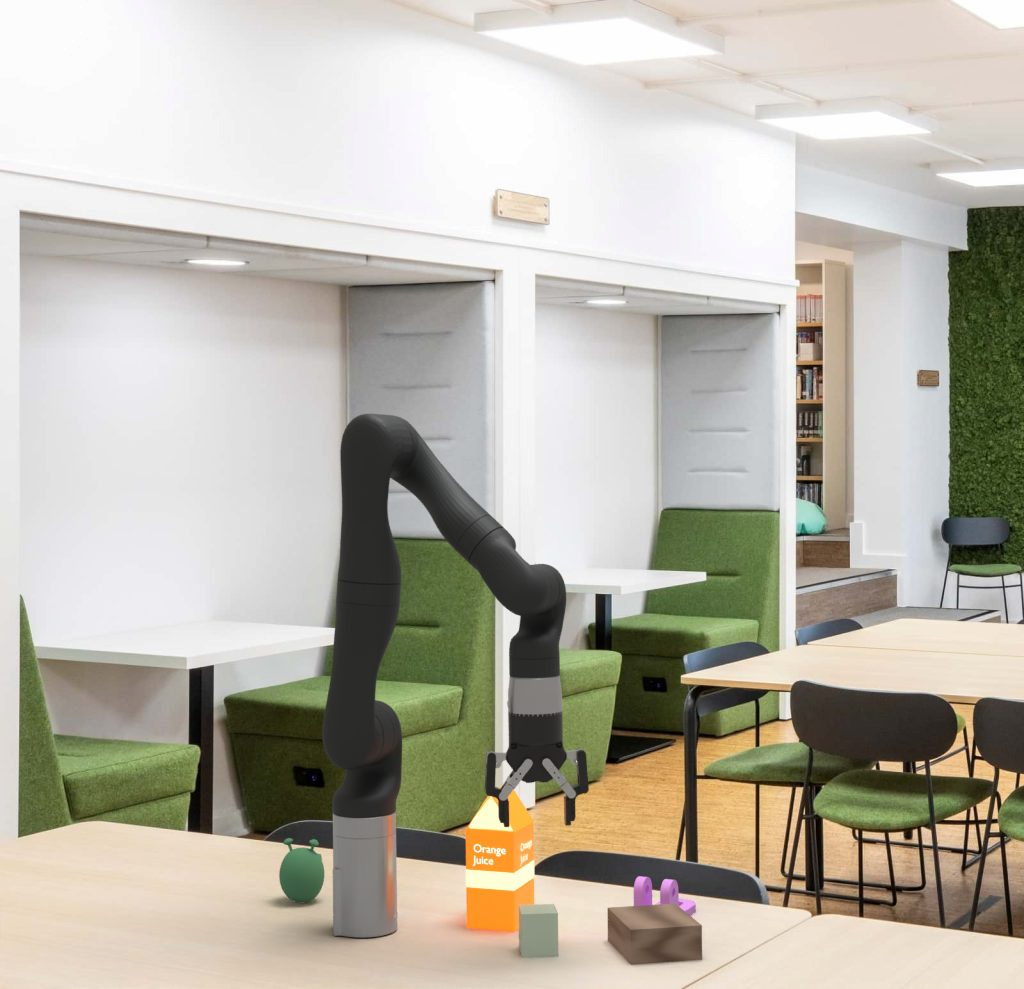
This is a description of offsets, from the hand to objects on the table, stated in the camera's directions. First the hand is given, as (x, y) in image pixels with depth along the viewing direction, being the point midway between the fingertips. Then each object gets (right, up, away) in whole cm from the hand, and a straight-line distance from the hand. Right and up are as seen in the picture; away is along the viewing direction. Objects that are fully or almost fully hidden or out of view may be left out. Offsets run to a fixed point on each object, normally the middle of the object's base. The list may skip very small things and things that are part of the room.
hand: (537, 825), depth 225 cm
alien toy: (-36, -18, +29) cm, 50 cm away
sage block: (0, -18, 0) cm, 18 cm away
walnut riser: (+16, -18, 0) cm, 24 cm away
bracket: (+20, -18, +18) cm, 32 cm away
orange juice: (-5, -18, +16) cm, 24 cm away
